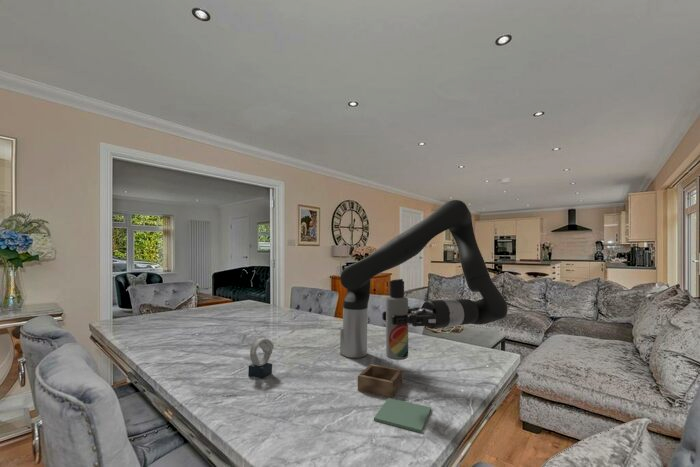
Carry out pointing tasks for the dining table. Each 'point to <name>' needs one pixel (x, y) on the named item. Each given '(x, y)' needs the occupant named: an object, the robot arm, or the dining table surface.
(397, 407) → the sage mat
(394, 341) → the lotion bottle
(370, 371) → the walnut holder
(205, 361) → the dining table surface
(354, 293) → the robot arm
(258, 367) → the watch
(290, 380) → the dining table surface
